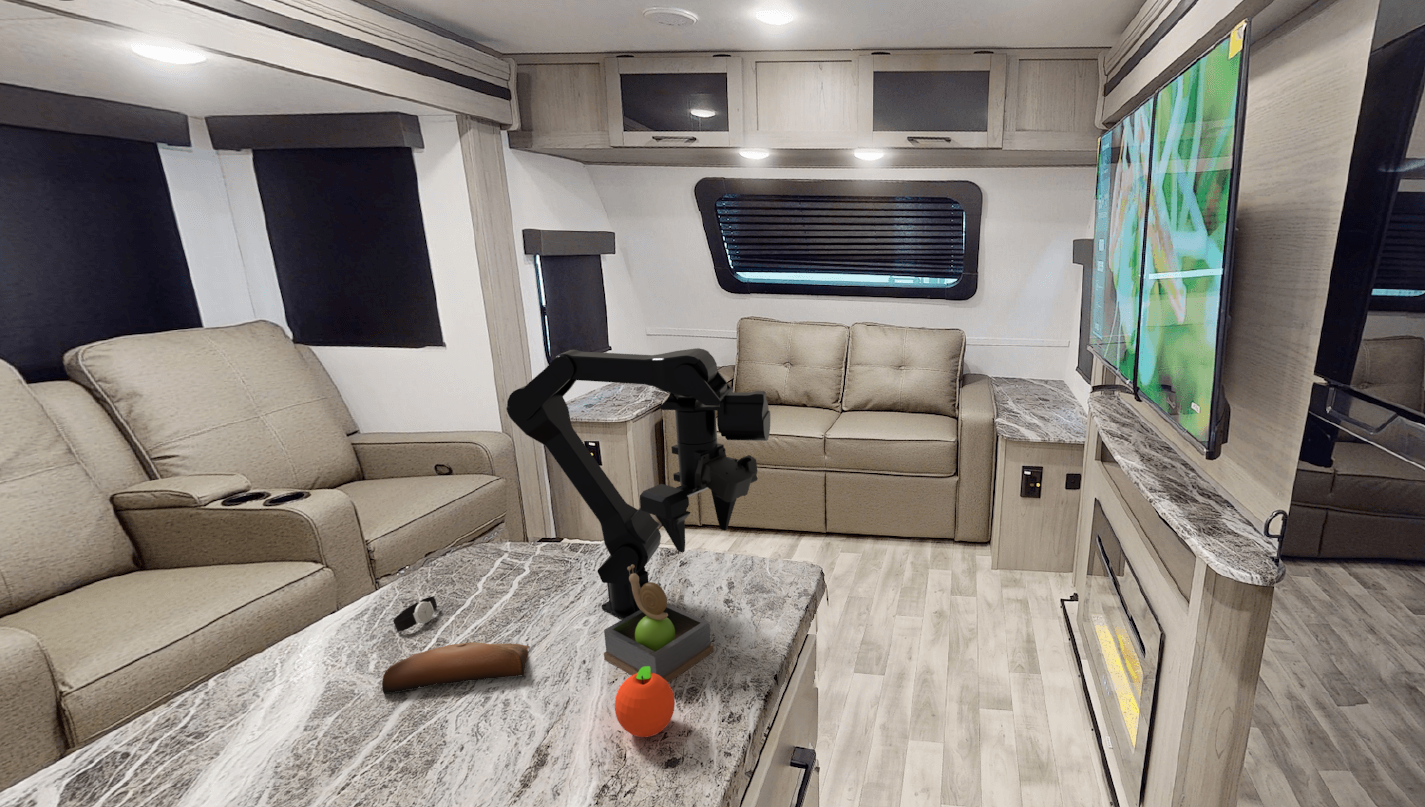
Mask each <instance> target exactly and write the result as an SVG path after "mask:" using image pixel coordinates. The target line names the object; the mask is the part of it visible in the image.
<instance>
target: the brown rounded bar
mask: <svg viewBox="0 0 1425 807" xmlns="http://www.w3.org/2000/svg"><path fill="white" fill-rule="evenodd" d="M529 647H530V646H529V645H525V644H524V645H523V644H520V643H485V642H475V641H474V642H470V641H469V642H466V643H465V642H464V643H463V642H461V643H454V644H448V645H444V646H440V647H436V648H432V649H428V650H425V651H422V652H419V653H414V654H412V655H410V656H408V657H406V658H405V659H402V660H400V661H398V662H397V663H394V664H392V665H390V666H389V667H388V668H387V669H386V670H385V672H384V674H383V677H382V682H381V687H382V688H381V690H382V693H383V694H384V695H385V694H395V693H398V692H399V693H401V692H406V691H411V690H416V689H418V688H427V687H431V686H436V685H448V684H457V683H464V682H465V683H466V682H470V681H472V682H473V681H484V680H493V679H500V678H501V679H502V678H510V677H520V676H521V677H526V675H525V674H526V667H527V661H528V655H529V654H528V653H529V652H528V650H529Z"/></svg>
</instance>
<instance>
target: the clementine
mask: <svg viewBox="0 0 1425 807" xmlns="http://www.w3.org/2000/svg"><path fill="white" fill-rule="evenodd" d="M650 671H651V669H650V666H644V667H642V668H641V669H640V670H639V672H638V673H636V674H634V675H630V676H629V677H627V678H626V679H625V680H624V681H623V683H621V685H620V686H619V688H618V690H617V693H616V695H615V700H614V711H615V717H616V719H617V721H618V723H619V725H620V726H621V728H623V730H624V731H625V732H627V733H629V735H632V736H634V737H638V738H647V737H648V738H649V737H653V736H655V735H657V734H659V733H661V732H662V731H663V730H664V729H665V728H666V727H667V726H668V725H669V723H670V722H671V720H672V717H673V715H674V712H675V706H676V705H675V702H676V701H675V694H674V691H673V689H672V687H671V685H670V683H668V682H667V681H666V680H665V679H664V678H662V677H661V676H660V675H658V674H655V673H651V672H650Z"/></svg>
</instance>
